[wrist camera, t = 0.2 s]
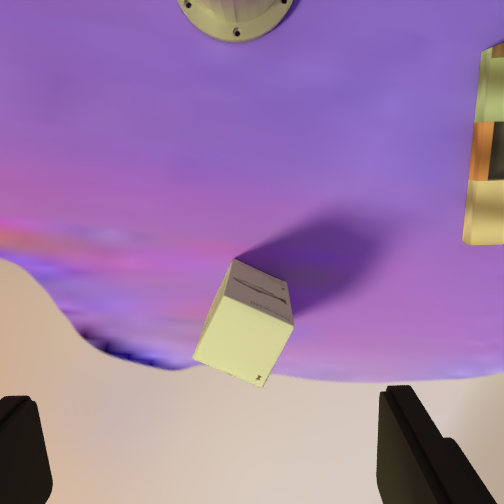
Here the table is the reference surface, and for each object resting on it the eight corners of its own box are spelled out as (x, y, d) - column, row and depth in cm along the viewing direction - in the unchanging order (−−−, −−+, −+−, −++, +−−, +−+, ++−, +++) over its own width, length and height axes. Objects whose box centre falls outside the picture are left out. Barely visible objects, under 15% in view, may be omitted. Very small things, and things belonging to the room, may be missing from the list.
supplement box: (289, 281, 48) (298, 327, 36) (261, 332, 50) (262, 392, 38) (233, 255, 47) (223, 293, 35) (207, 307, 49) (190, 361, 37)
